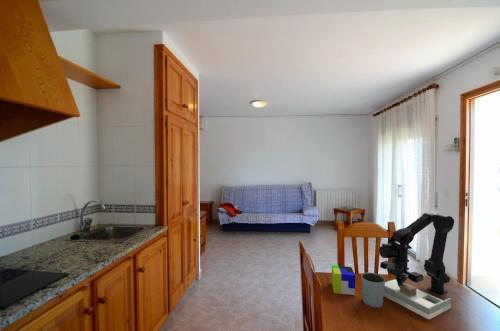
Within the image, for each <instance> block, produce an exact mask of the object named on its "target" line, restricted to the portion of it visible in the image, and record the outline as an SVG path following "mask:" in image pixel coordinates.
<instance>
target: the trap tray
mask: <svg viewBox="0 0 500 331" xmlns="http://www.w3.org/2000/svg"><path fill="white" fill-rule="evenodd" d="M404 284H406V283H405V282H404ZM383 297H385V298H386V299H389V300H391V301H393V302H394V303H396V304H399V305H401V306H402V307H404V308H406V309H408V310H410V311H412V312H414V313H415V314H417V315H420V316H422V318H424V319H427V320H431V319H433V318H435V317H437V316H439V315H441V314H443V313H444V312H446V311H448V310H450V309H452V298H451V297H449V298H445V300H443V299H441V298H438V297H436V296H434V295H431V294H430V293H427V292H425V291H422V290H420V289H418V288H417V291H416V295H414V296H411V297H409V296H407V295H405V294H403V293H401V292H400V288H399V286H398V283H397V280H396V278H395V279H391V280H388V281H385V286H384V296H383Z"/></svg>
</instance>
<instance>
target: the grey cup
mask: <svg viewBox="0 0 500 331" xmlns="http://www.w3.org/2000/svg"><path fill="white" fill-rule="evenodd" d="M360 277H361V284H362V285H361V290H362V293H361V294H362V301H363V303H364V304H366V305H367V306H369V307H372V308H381V307H383V305H384V297H385V296H384V286H385V282H386V278H385V277H384V276H383V275H380V274H378V273H374V272H363V273H361V276H360Z"/></svg>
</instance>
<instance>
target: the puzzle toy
mask: <svg viewBox="0 0 500 331" xmlns="http://www.w3.org/2000/svg"><path fill="white" fill-rule="evenodd" d="M331 287H332V289H333V293H334V294H339V295H340V294H342V295H348V296H349V295H351V296H356V274H355V271H354V269H353V267H352V266H344V265H333V264H332V265H331Z"/></svg>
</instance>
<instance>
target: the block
mask: <svg viewBox="0 0 500 331" xmlns="http://www.w3.org/2000/svg"><path fill="white" fill-rule="evenodd" d="M417 289H418V288H417V287H416V286H413V285H411V284H408V283H405V284H403V285H400V292H401V293H403V294H405V295H407V296H409V297H411V296H414V295H416V291H417Z"/></svg>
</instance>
